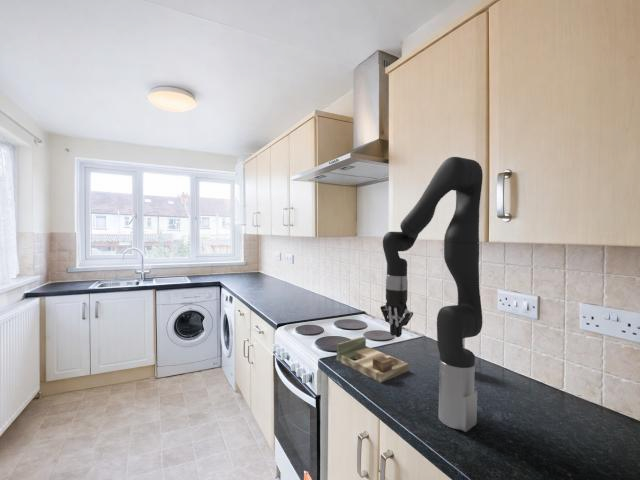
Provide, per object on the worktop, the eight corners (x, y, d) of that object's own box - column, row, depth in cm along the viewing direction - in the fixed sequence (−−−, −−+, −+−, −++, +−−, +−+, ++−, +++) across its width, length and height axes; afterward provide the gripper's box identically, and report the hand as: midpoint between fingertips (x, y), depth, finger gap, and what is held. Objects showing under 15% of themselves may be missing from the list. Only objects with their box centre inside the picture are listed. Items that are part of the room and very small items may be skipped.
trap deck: (408, 371, 121) (408, 353, 121) (380, 382, 112) (380, 363, 112) (363, 351, 141) (363, 336, 141) (336, 360, 131) (336, 343, 131)
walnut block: (391, 369, 116) (391, 359, 116) (382, 372, 113) (382, 363, 113) (381, 364, 120) (381, 355, 120) (372, 367, 117) (372, 358, 117)
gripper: (419, 289, 108) (418, 339, 108) (388, 284, 119) (387, 329, 119) (405, 291, 103) (404, 343, 104) (375, 285, 114) (374, 332, 115)
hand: (395, 335), depth 112 cm, fingers closed
